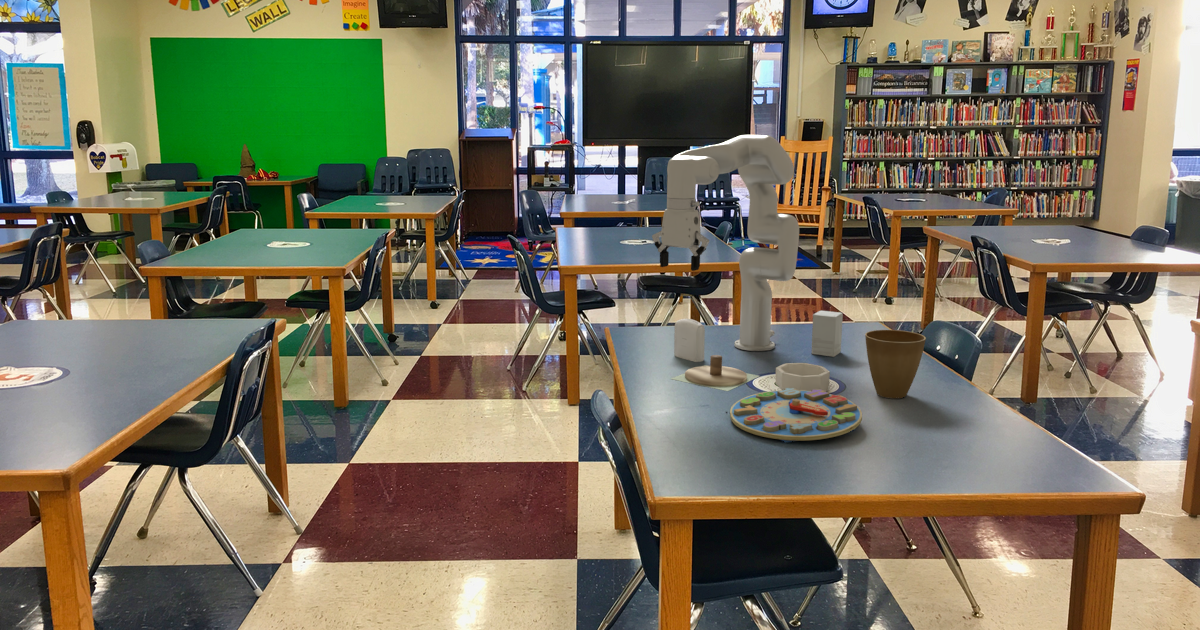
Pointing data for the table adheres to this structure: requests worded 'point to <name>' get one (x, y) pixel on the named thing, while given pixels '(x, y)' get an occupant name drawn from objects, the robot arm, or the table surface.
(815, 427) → the shape sorting clock
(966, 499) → the table surface
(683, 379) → the mat
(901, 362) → the plant pot
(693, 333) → the photo printer
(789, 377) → the bowl
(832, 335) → the supplement box
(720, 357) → the lid
